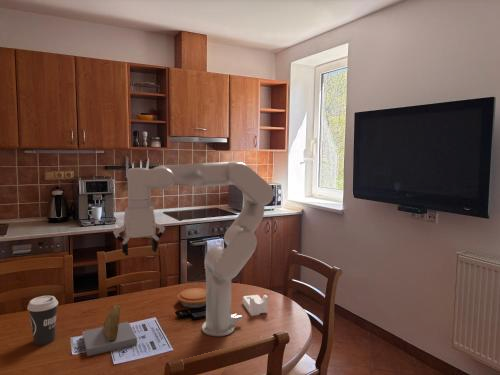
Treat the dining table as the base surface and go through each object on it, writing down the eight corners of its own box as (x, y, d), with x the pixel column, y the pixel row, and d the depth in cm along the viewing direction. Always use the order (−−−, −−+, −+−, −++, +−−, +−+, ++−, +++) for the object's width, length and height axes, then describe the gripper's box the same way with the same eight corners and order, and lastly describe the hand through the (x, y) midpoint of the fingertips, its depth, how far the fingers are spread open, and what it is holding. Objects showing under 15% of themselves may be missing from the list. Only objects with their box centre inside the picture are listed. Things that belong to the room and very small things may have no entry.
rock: (122, 335, 128) (132, 318, 137) (106, 317, 126) (117, 301, 136) (99, 351, 129) (111, 333, 139) (82, 333, 128) (95, 317, 138)
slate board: (128, 327, 143) (128, 321, 143) (136, 344, 131) (136, 337, 131) (82, 337, 135) (82, 331, 135) (87, 356, 123) (87, 349, 123)
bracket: (267, 314, 157) (267, 297, 156) (251, 316, 155) (251, 298, 154) (257, 302, 169) (258, 286, 169) (242, 303, 167) (243, 287, 167)
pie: (170, 303, 166) (170, 292, 166) (196, 293, 178) (196, 283, 178) (193, 313, 156) (193, 302, 156) (219, 302, 168) (219, 291, 168)
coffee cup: (38, 350, 126) (36, 307, 125) (23, 342, 131) (21, 301, 130) (65, 338, 135) (63, 298, 133) (50, 331, 140) (48, 292, 138)
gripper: (161, 201, 135) (161, 247, 137) (110, 204, 127) (112, 253, 129) (167, 203, 129) (168, 252, 131) (114, 207, 120) (116, 259, 122)
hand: (140, 252), depth 130 cm, fingers open, 9 cm apart
